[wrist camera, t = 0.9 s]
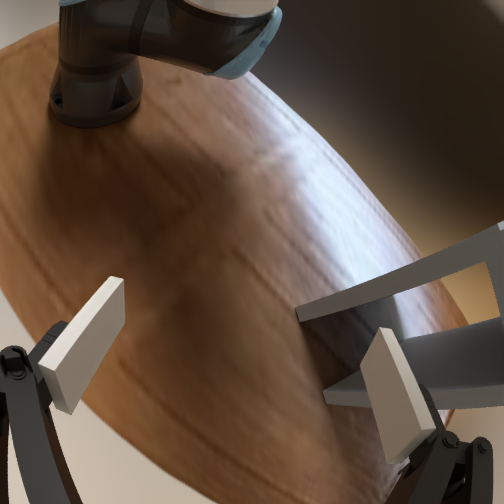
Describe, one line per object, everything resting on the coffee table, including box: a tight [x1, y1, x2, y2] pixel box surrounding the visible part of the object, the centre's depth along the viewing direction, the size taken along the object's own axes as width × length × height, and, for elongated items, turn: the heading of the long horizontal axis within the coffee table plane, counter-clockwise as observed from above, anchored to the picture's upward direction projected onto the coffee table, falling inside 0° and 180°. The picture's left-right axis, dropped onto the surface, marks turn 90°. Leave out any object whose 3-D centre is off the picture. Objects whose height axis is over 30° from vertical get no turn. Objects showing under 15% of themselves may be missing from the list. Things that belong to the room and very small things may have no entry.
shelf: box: [295, 221, 504, 410], centre depth 30 cm, size 20×14×31 cm
